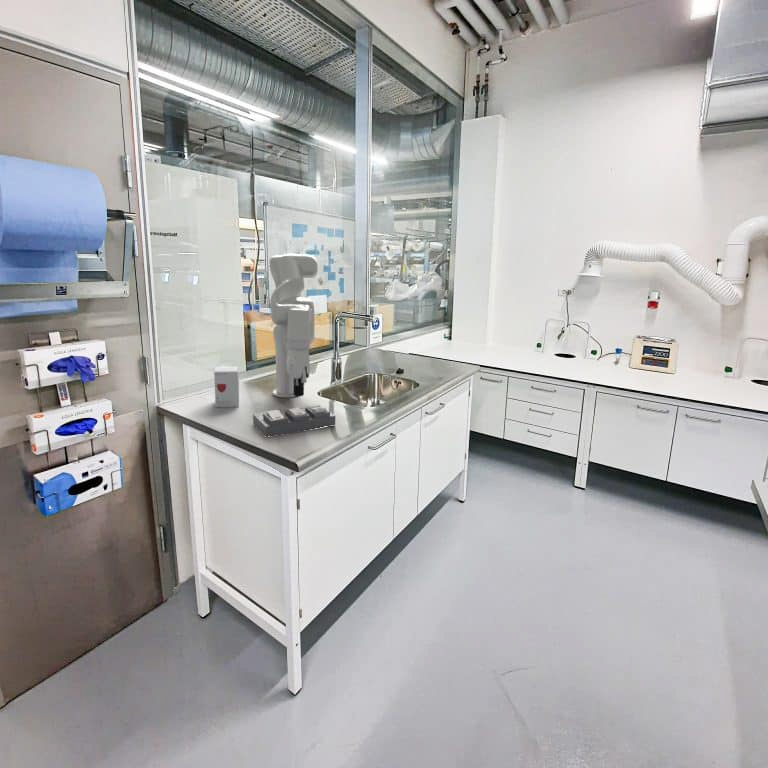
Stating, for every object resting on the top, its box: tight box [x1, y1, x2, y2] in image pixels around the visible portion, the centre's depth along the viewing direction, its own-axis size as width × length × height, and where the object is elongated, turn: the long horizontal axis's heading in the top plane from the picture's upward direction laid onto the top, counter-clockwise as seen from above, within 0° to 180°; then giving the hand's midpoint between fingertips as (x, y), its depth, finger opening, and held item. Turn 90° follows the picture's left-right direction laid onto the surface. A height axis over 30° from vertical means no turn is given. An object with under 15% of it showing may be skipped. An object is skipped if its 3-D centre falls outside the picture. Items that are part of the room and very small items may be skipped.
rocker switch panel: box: [252, 404, 336, 438], centre depth 163 cm, size 14×26×6 cm, turn 123°
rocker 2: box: [309, 406, 327, 413], centre depth 165 cm, size 6×4×1 cm, turn 33°
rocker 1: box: [266, 409, 284, 420], centre depth 156 cm, size 6×4×1 cm, turn 33°
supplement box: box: [213, 366, 240, 409], centre depth 181 cm, size 9×9×15 cm
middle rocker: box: [288, 407, 306, 417], centre depth 161 cm, size 6×4×1 cm, turn 33°
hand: (298, 395), depth 158 cm, fingers closed
